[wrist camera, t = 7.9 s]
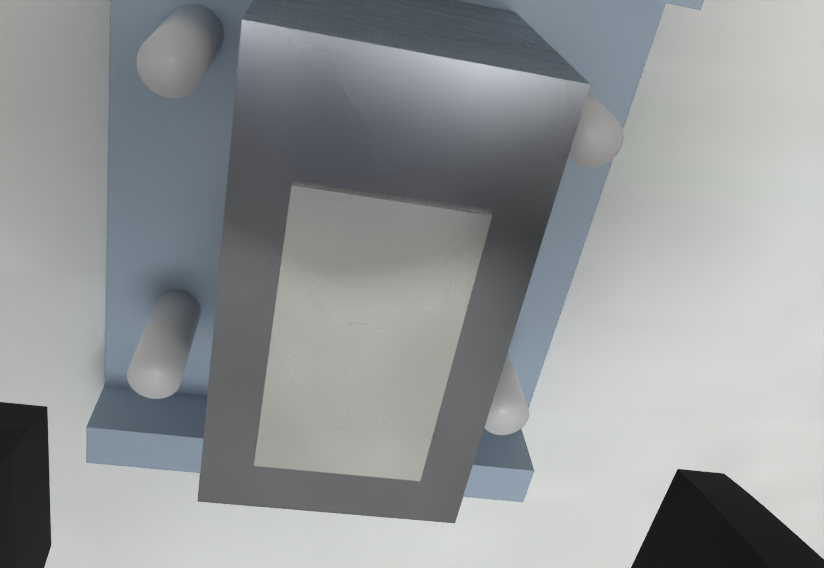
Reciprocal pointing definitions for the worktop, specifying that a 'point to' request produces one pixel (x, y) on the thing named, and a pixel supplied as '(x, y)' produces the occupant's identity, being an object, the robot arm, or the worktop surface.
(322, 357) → the block
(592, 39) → the tray
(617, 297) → the worktop surface
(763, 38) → the worktop surface
